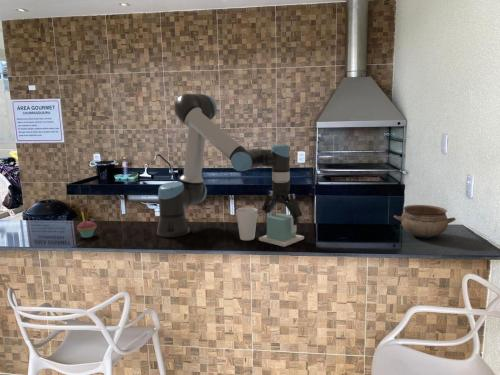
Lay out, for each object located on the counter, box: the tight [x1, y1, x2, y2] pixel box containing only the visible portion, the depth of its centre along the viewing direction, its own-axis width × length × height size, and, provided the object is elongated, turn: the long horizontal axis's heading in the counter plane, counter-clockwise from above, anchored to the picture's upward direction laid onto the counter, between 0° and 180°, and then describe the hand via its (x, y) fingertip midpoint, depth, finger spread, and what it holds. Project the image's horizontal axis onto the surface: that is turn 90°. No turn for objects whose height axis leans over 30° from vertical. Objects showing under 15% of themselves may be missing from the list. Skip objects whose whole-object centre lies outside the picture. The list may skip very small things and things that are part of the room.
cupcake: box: [76, 212, 98, 239], centre depth 187 cm, size 9×8×12 cm
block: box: [266, 212, 297, 241], centre depth 176 cm, size 9×9×9 cm
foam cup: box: [235, 207, 259, 241], centre depth 179 cm, size 10×9×13 cm
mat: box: [258, 234, 305, 248], centre depth 177 cm, size 14×14×1 cm
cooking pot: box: [393, 204, 457, 240], centre depth 176 cm, size 25×19×12 cm
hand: (281, 229), depth 176 cm, fingers open, 13 cm apart
